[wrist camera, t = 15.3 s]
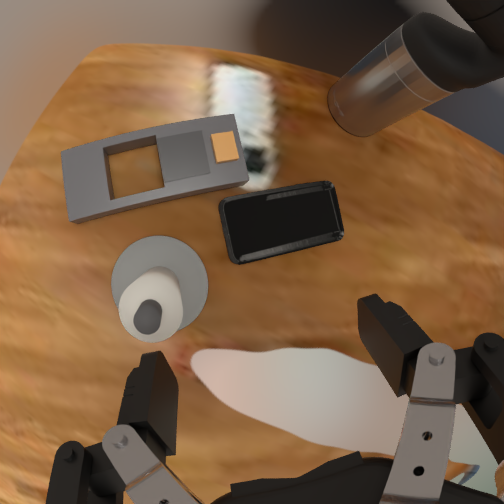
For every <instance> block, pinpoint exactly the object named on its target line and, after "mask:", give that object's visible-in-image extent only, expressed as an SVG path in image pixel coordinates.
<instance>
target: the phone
mask: <svg viewBox="0 0 504 504" xmlns="http://www.w3.org/2000/svg"><path fill="white" fill-rule="evenodd" d="M219 214H220V218H221V223H222V227H223V232H224V237H225V241H226V246H227V250H228V255H229V258H230V260H231V261H232V262H233V263H235V264H239V265H240V264H245V263H250V262H254V261H258V260H262V259H266V258H270V257H274V256H278V255H283V254H287V253H291V252H295V251H299V250H303V249H307V248H311V247H315V246H319V245H323V244H327V243H331V242H335V241H339V240H341V239H342V238H343V236H344V228H343V223H342V218H341V213H340V209H339V204H338V199H337V195H336V191H335V187H334V185H333V184H332V183H331V182H330V181H320V182H313V183H304V184H297V185H294V186H288V187H282V188H276V189H270V190H264V191H258V192H253V193H247V194H242V195H237V196H231V197H227V198H224V199H223V200H222V201H221V202H220V204H219Z"/></svg>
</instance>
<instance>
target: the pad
mask: <svg viewBox="0 0 504 504" xmlns="http://www.w3.org/2000/svg"><path fill="white" fill-rule="evenodd" d="M156 266H163V267H166V268H168V269H170V270H172V271H173V272H174V273H175V275H176V276H177V278H178V281H179V286H180V293H181V299H182V306H183V318H182V322H181V324H180V326H179V328H178V330H180V329H183V328H184V327H186V326H188V325H189V324H190V323H191V322H193V321H194V320H195V318H196V317H197V316H198V315H199V313H200V312H201V310H202V309H203V307H204V304H205V302H206V298H207V294H208V278H207V273H206V270H205V267H204V265H203V263H202V261H201V259H200V258H199V256H198V255H197V254H196V253H195V251H194V250H193V249H191V248H190V247H189V246H188V245H186V244H185V243H183V242H182V241H180V240H177V239H175V238H172V237H167V236H150V237H146V238H143V239H140V240H138V241H136V242H134V243H133V244H131V245H130V246H129V247H128V248H126V249H125V250H124V252H123V253H122V254H121V255H120V257H119V258H118V260H117V262H116V264H115V267H114V270H113V273H112V281H111V286H112V294H113V298H114V301H115V304H116V306H117V308H118V310H119V302H120V298H121V296H122V294H123V292H124V291H125V289H126V288H127V287H128V286H129V285H130V284H132V283H133V282H134V281H135V280H136V279H138V278H139V277H140V276H141V275H143V274H144V273H145V272H146V271H147V270H149V269H150V268H153V267H156ZM178 330H177V331H178Z"/></svg>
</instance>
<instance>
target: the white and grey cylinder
mask: <svg viewBox="0 0 504 504" xmlns="http://www.w3.org/2000/svg"><path fill="white" fill-rule="evenodd" d="M119 316H120V319H121V322H122V324H123V326H124V328H125V329H126V330H127V331H128V332H129V333H130V334H131V335H132V336H133V337H135V338H137V339H139V340H141V341H144V342H151V343H153V342H160V341H164V340H166V339H168V338H169V337H171V336H172V335H173V334H174V333H175V332H176V331H177V330H178V328H179V326H180V324H181V322H182V318H183V306H182V299H181V293H180V286H179V281H178V278H177V276H176V275H175V273H174V272H173V271H172V270H170V269H168V268H166V267H163V266H156V267H153V268H150V269H149V270H147V271H146V272H145V273H144V274H143V275H141V276H140V277H139V278H138V279H136V280H135V281H134V282H133V283H132V284H130V285H129V286H128V287H127V288H126V289H125V291H124V292H123V294H122V296H121V298H120V302H119Z"/></svg>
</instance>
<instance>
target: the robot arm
mask: <svg viewBox="0 0 504 504" xmlns="http://www.w3.org/2000/svg"><path fill="white" fill-rule="evenodd" d="M447 2H448V3H449V4H450V5H451V6H452V8H453V9H454V10H455V11H456V12H457V13H458V14H459V15H460V16H461V17H462V18H463V19H464V20H465V21H466V23H467V24H468V25H469V26H470V27H471V28H472V29H473V30H474V31H475V33H474V32H470V31H467V30H464V29H462V28H460V27H457V26H455V25H454V24H452V23H450V22H448V21H446V20H444V19H443V18H441V17H439V16H437V15H434V14H431V13H426V12H425V13H424V12H422V13H419V14H416V15H414V16H413V17H411V18H410V19H409V20H408V21H407V22H405V23H404V24H403V25H402V26H400V27H399V28H398V29H397V30H395V31H394V32H393V33H392V34H391V35H390V36H389V37H387V38H386V39H385V40H384V41H383V42H381V44H379V45H378V46H377V47H376V48H375V49H374V50H372V51H371V52H370V53H369V54H368V55H366V56H365V57H364V58H363V59H362V60H361V61H360V62H359V63H357V64H356V65H355V66H354V67H353V68H352V69H351V70H350V71H349V72H347V73H346V74H345V75H344V76H343V77H342V78H341V79H340V80H339V81H338V82H337V83H335V84H334V85H333V86H332V87H331V89H330V91H329V94H328V105H329V109H330V111H331V114H332V116H333V117H334V119H335V120H336V121H337V123H338V124H339V125H340V126H341V127H342V128H343V129H345V130H346V131H348V132H349V133H351V134H353V135H356V136H361V137H365V136H370V135H372V134H374V133H376V132H378V131H380V130H382V129H384V128H385V127H388V126H389V125H391V124H393V123H395V122H397V121H399V120H401V119H403V118H405V117H407V116H409V115H411V114H413V113H415V112H417V111H419V110H421V109H423V108H425V107H426V106H428V105H431V104H433V103H435V102H437V101H439V100H440V99H442V98H444V97H447V96H449V95H451V94H453V93H455V92H457V91H459V90H461V89H464V88H475V87H478V86H481V85H484V84H486V83H489V82H491V81H494V80H497V79H499V78H503V77H504V0H447ZM357 307H358V330H359V335H360V338H361V340H362V342H363V344H364V345H365V347H366V349H367V350H368V352H369V353H370V355H371V356H372V358H373V359H374V361H375V363H376V364H377V366H378V367H379V369H380V370H381V372H382V373H383V375H384V377H385V378H386V380H387V381H388V383H389V385H390V386H391V388H392V389H393V391H394V393H395V394H396V396H397V397H400V396H402V395H404V394H407V395H408V397H409V398H410V399H409V403H408V408H407V412H406V417H405V420H404V424H403V428H402V432H401V436H400V439H399V443H398V446H397V449H396V453H395V456H394V459H389V458H383V457H365V458H362V457H361V455H360V452H359V451H357V452H354V453H352V454H349V455H346V456H343V457H340V458H337V459H334V460H331V461H328V462H326V463H324V464H323V465H321V466H319V467H317V468H315V469H314V470H312V471H310V472H308V473H306V474H304V475H302V476H300V477H297V478H278V479H263V478H262V479H257V480H252V481H246V482H240V483H234V484H230V485H231V492H229V493H227V494H225V495H223V496H221V497H219V498H218V499H216V500H215V501H213V502H212V503H211V504H504V339H503V338H502V337H501V336H499V335H497V334H495V333H483V334H481V335H479V336H478V337H477V338H476V339H475V341H474V345H473V347H468V348H463V349H458V350H453V349H452V348H451V347H450V346H448V345H446V344H443V343H434V342H433V341H432V340H431V339H430V338H429V337H428V335H427V334H426V333H425V332H424V331H423V330H422V329H421V328H420V327H419V325H418V324H417V323H416V322H415V321H413V319H412V318H411V317H410V316H409V315H408V314H407V312H406V311H405V310H404V309H403V308H402V307H401V306H399V305H397V304H395V303H393V302H391V301H389V302H387V303H384V301H383V300H382V299H381V298H380V297H379V296H378V295H377V294H372V295H369V296H366V297H363V298H360V299H358V302H357ZM178 391H179V390H178V383H177V380H176V377H175V375H174V373H173V371H172V370H171V368H170V366H169V364H168V362H167V360H166V358H165V357H164V355H163V353H162V352H161V351H156V352H151V353H146V354H143V355H142V357H141V361H140V365H139V367H137V368H134V369H133V370H132V372H131V373H130V375H129V376H128V378H127V382H126V386H125V390H124V394H123V396H124V397H123V399H122V403H121V407H120V412H119V417H118V421H117V426H114V427H112V428H111V429H110V430H108V431H107V432H106V434H105V435H104V437H103V440H102V442H100V443H98V444H95V445H92V446H88V447H85V448H84V447H83V446H82V445H81V444H80V443H79V442H77V441H68V442H66V443H64V444H62V445H61V446H60V447H59V449H58V450H57V452H56V455H55V459H54V463H53V468H52V473H51V477H50V482H49V488H48V493H47V499H46V504H123V491H125V490H126V492H127V494H128V495H129V497H130V498H131V500H132V501H133V502H134V504H204V503H203V502H202V501H201V500H200V499H199V498H198V497H197V496H196V495H195V494H194V493H193V492H192V491H191V490H190V489H189V488H188V487H187V486H186V485H185V484H184V483H183V482H182V481H181V480H180V479H179V478H178V477H177V476H176V475H175V474H174V472H173V471H172V470H171V469H170V468H169V467H168V466H167V465H166V464H165V463H166V456H171V455H176V429H177V409H178ZM459 403H462V405H463V407H464V408H465V410H466V411H467V412H468V414H469V416H470V418H471V419H472V421H473V422H474V424H475V426H476V427H477V429H478V430H479V432H480V434H481V435H482V437H483V439H484V440H485V442H486V444H487V445H488V447H489V449H490V451H491V452H492V454H493V455H494V457H495V459H496V461H497V463H498V467H497V469H496V472H495V482H496V487H497V496H494V495H492V494H488V493H484V492H481V491H478V490H475V489H471V488H468V487H465V486H462V485H459V484H456V483H453V482H450V481H447V480H445V479H444V477H445V473H446V468H447V463H448V458H449V452H450V446H451V440H452V433H453V426H454V418H455V409H456V404H459ZM87 498H88V499H87Z"/></svg>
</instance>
